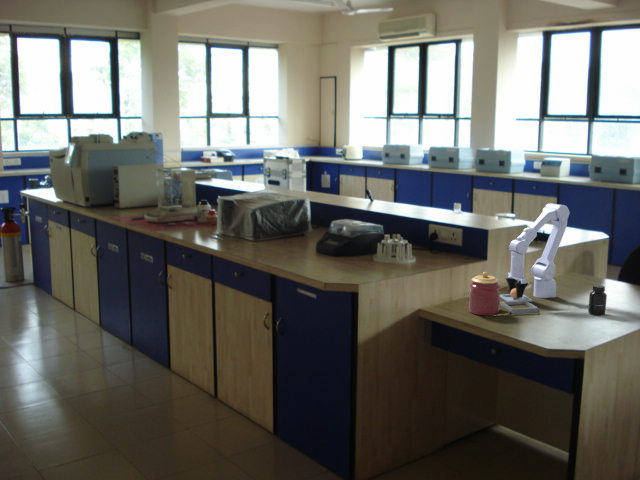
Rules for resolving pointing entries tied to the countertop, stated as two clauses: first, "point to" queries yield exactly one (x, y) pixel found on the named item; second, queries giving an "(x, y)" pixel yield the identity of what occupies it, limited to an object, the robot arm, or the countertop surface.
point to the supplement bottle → (597, 300)
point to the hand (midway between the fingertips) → (515, 295)
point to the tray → (520, 310)
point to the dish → (509, 298)
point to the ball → (514, 293)
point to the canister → (484, 295)
